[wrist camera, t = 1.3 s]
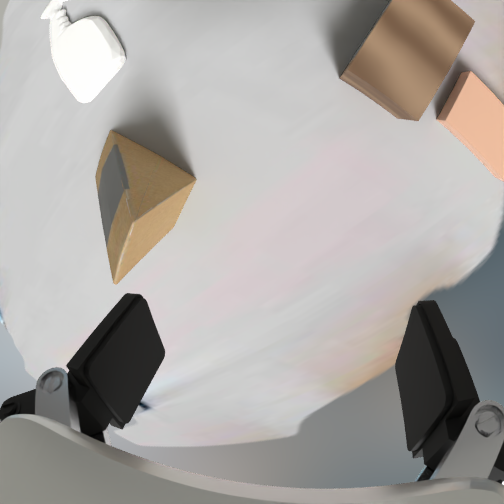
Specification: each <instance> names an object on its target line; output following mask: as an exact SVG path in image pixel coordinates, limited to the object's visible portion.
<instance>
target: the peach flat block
mask: <svg viewBox="0 0 504 504" xmlns="http://www.w3.org/2000/svg"><path fill="white" fill-rule="evenodd" d="M437 121H439V122H440V123H441V124H442V125H443V126H444V127H445V128H447V129H448V130H449V131H450V132H451V133H452V134H453V135H454V136H455V137H457V138H458V139H459V140H460V141H461V142H462V143H463V144H464V145H465V146H466V147H467V148H468V149H469V150H470V151H471V152H472V153H473V154H474V155H475V156H476V157H477V158H478V159H479V160H480V161H481V162H482V163H483V164H484V166H485V167H486V168H487V169H488V170H489V171H490V172H491V173H492V174H493V175H494V177H496V178H498V179H499V180H501V181H503V182H504V105H503V104H502V103H501V101H500V100H499V99H498V98H497V97H496V96H495V95H494V94H493V93H492V92H491V91H490V89H489V88H488V87H487V86H486V85H485V84H484V83H483V82H482V81H481V80H480V79H479V78H478V77H477V76H476V75H475V74H474V73H473V72H472V71H467V72H461V74H460V76H459V78H458V80H457V82H456V84H455V86H454V88H453V90H452V92H451V94H450V96H449V98H448V99H447V101H446V103H445V105H444V107H443V109H442V111H441V112H440V114H439V116H438V118H437Z"/></svg>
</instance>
